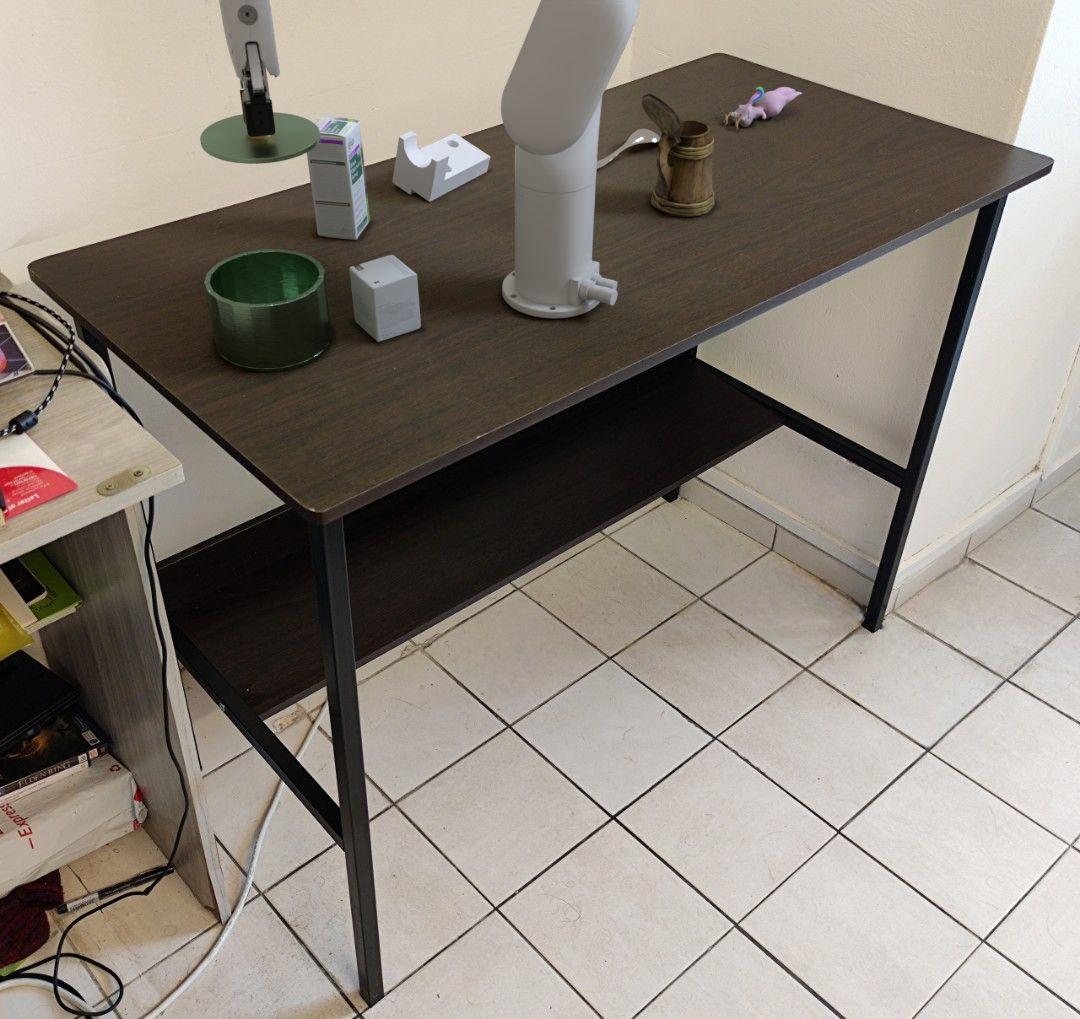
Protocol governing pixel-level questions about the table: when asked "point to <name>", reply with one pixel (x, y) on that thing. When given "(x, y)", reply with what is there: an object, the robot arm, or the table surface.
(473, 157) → the bracket
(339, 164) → the syrup box
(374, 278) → the product carton
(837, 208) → the table surface
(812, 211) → the table surface
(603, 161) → the metal spoon
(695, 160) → the wooden mug
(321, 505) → the table surface
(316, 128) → the tin lid
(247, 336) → the tin
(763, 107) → the pink creature figurine
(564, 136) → the robot arm
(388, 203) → the table surface
